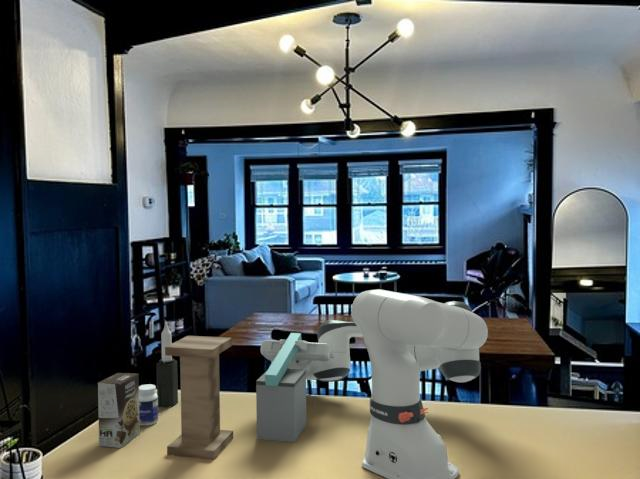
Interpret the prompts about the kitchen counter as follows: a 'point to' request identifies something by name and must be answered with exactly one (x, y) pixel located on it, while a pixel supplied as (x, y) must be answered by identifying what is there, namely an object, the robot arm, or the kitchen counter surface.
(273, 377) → the teal bar
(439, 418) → the kitchen counter surface
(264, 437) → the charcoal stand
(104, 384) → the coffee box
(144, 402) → the pill bottle
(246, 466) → the kitchen counter surface
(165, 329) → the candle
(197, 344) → the walnut stand
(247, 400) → the kitchen counter surface
